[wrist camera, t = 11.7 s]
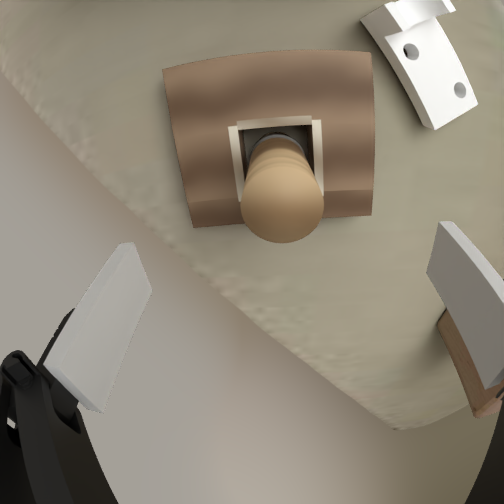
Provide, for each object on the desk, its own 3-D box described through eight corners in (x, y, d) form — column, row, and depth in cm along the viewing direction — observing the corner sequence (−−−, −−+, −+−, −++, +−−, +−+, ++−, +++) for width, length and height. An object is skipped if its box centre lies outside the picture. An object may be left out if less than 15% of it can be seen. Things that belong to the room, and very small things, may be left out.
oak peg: (249, 130, 27) (232, 169, 15) (299, 126, 26) (324, 163, 15) (254, 176, 30) (244, 247, 18) (302, 172, 29) (325, 241, 17)
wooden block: (433, 324, 41) (472, 422, 24) (462, 279, 36) (520, 380, 19) (468, 325, 42) (506, 409, 25) (495, 285, 36) (547, 370, 19)
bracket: (356, 21, 20) (384, 4, 13) (404, 0, 17) (439, -15, 11) (419, 124, 25) (456, 139, 19) (460, 100, 22) (501, 111, 16)
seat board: (175, 70, 23) (161, 69, 20) (357, 55, 22) (371, 52, 18) (201, 211, 32) (193, 228, 29) (360, 199, 30) (371, 215, 27)
